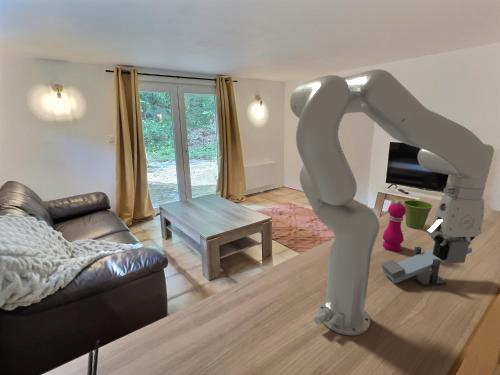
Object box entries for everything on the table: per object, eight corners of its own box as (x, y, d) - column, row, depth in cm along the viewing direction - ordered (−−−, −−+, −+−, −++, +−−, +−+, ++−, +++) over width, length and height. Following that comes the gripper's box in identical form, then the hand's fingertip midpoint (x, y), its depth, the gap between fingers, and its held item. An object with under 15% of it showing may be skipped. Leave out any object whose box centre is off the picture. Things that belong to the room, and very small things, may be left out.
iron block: (447, 263, 69) (452, 242, 67) (432, 253, 74) (436, 234, 72) (464, 262, 70) (469, 241, 68) (448, 253, 74) (453, 233, 73)
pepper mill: (404, 253, 101) (412, 203, 96) (384, 251, 103) (390, 202, 98) (398, 244, 108) (405, 197, 103) (379, 242, 110) (385, 196, 104)
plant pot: (401, 219, 134) (404, 198, 131) (429, 224, 127) (433, 202, 124) (398, 227, 124) (401, 204, 122) (428, 233, 118) (432, 209, 115)
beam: (395, 283, 82) (392, 274, 81) (383, 272, 87) (381, 263, 86) (472, 252, 82) (470, 242, 81) (455, 243, 88) (454, 234, 87)
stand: (422, 287, 81) (427, 262, 79) (401, 269, 90) (405, 247, 88) (446, 285, 82) (451, 260, 80) (423, 268, 91) (427, 245, 89)
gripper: (445, 197, 62) (430, 265, 67) (508, 196, 64) (489, 263, 69) (421, 188, 70) (409, 251, 74) (479, 188, 72) (464, 249, 76)
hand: (448, 256), depth 71 cm, fingers closed on iron block, 5 cm apart
